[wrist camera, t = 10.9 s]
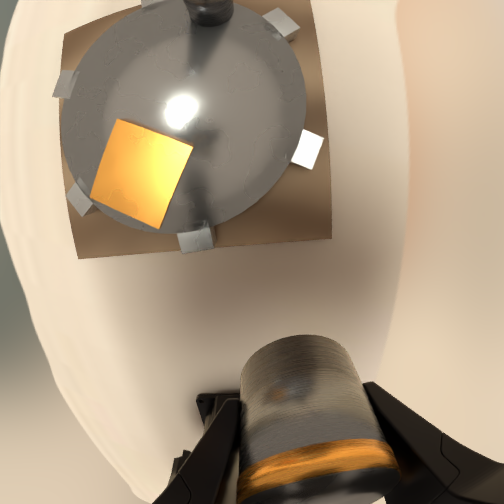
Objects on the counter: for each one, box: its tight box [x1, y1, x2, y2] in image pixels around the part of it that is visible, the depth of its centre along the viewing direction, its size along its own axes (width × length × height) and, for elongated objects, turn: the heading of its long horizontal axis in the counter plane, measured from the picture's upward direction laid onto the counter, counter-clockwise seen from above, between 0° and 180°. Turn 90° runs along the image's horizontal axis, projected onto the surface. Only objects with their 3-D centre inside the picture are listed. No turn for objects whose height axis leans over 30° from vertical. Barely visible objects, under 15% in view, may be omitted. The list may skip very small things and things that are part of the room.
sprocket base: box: [59, 0, 332, 259], centre depth 15 cm, size 17×17×1 cm
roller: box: [236, 335, 401, 504], centre depth 7 cm, size 4×4×5 cm
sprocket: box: [52, 0, 324, 254], centre depth 11 cm, size 16×15×6 cm
